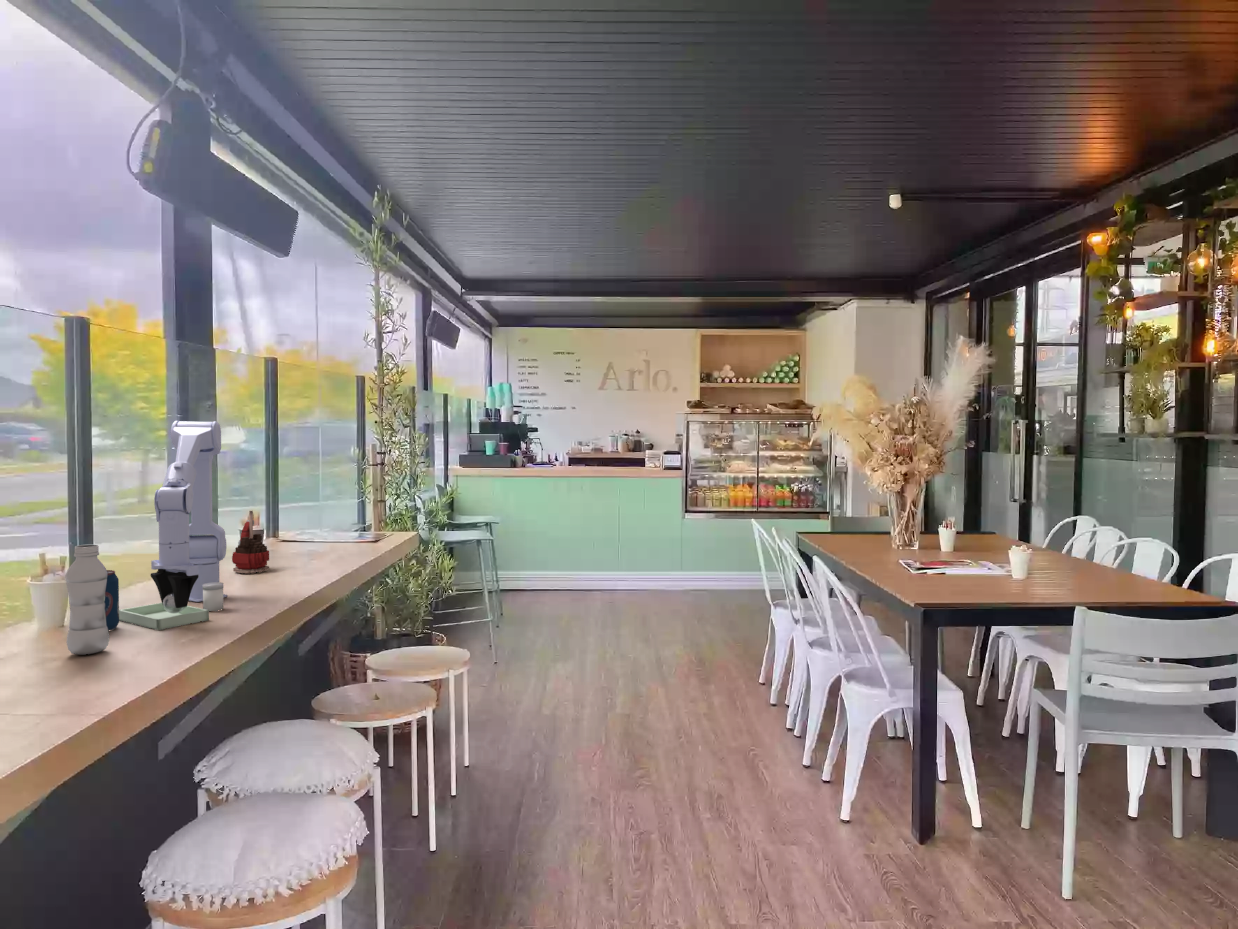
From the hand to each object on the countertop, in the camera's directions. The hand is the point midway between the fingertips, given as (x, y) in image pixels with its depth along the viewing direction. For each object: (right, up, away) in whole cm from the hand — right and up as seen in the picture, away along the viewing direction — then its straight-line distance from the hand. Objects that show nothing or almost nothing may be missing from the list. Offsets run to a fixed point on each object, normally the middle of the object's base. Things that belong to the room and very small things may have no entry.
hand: (174, 605), depth 173 cm
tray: (-4, -4, +3) cm, 6 cm away
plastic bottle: (-3, -5, -24) cm, 25 cm away
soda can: (-12, -4, -7) cm, 14 cm away
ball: (0, +1, 0) cm, 1 cm away
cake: (-12, -1, +63) cm, 64 cm away
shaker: (+2, -3, +13) cm, 14 cm away
